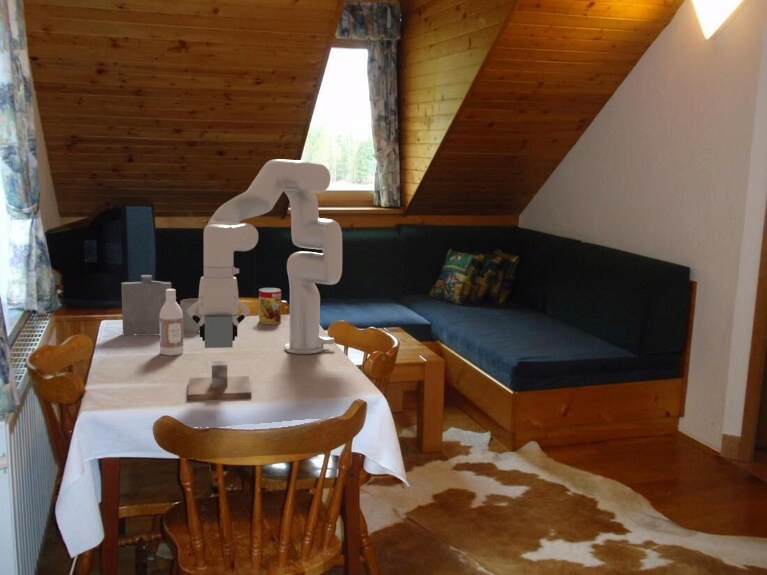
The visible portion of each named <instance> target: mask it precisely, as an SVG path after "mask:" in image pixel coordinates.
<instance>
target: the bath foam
mask: <svg viewBox="0 0 767 575" xmlns="http://www.w3.org/2000/svg"><path fill="white" fill-rule="evenodd" d="M176 293H177V290H176V289H175V288H171V289H166V302H165V304H164V305H163V307H162V308H161V311H160V316H159V323H160V335H159V350H160V352H159V353H160V354H161V355H164V356H167V357H169V356H170V357H171V356H172V357H173V356H178V355H181V354H183V352H184V331H183V314H182V310H181V305H179V304H178V302H177V301H176V300H177V296H176V295H177V294H176Z"/></svg>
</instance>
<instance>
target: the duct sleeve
mask: <svg viewBox="0 0 767 575" xmlns="http://www.w3.org/2000/svg"><path fill="white" fill-rule="evenodd" d="M233 342H234V341H233V316H205V341H204V348H205V349H216V348H217V349H219V348H220V349H223V348H233Z"/></svg>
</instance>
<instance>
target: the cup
mask: <svg viewBox="0 0 767 575" xmlns="http://www.w3.org/2000/svg"><path fill="white" fill-rule="evenodd" d="M198 300H199V298H186V299H182V300H180V308H181V310H182V314H183V332H185V331H188V332H187V333H200V332H199V331H200V326H199V325H198V324H197V323H196V322H195V321H194V320H193V319H192V317H191V316H190V315H189V314H188V313H187V309H188V308H190V307H191V306H192V305H193V304H195V303H196V302H197V301H198ZM194 313H195V314H196V315H197V316H198V317H199V318H200V317H201V315H200V314H199V307H198V308H197V309H196V310H194ZM204 324H205V322H204Z"/></svg>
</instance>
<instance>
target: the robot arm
mask: <svg viewBox="0 0 767 575" xmlns="http://www.w3.org/2000/svg"><path fill="white" fill-rule="evenodd" d="M330 183H331V174H330V171H329V169H328V168H327V166H325V165H324V164H321V163H316V162H309V161H304V160H298V159H296V160H294V159H280V158H279V159H278V158H277V159H270V160H267V162H265V164H264V165H263V167H261V169H260V170H259V171H258V174H257V175H256V176H255V178H254V180H252V182H251V184H250V185H249V186H248V187H247V188H248V189H247V190H246V191H244V192H242V193H241V194H238V195H236V196H234V197H233V198H231V199H229V200H227V201H226V202H225V203H223V204H222V205H220V207H218V208H217V209H216V210H215V212H214V213H213V214H212V216H211V217H210V219H209V220H208V222H207V224H206V226H205V227H204V229H203V276H201V277H200V280H199V285H198V287H199V289H198V299H199V300H198V301H197V302H196V303H195V304H193V305H192V306H191V307H190V308H188V309H187V313H188V314H189V315H190V316H191V317H192V319H193V320H194V321H195V322H196V323H197V324H198V325H199V326H200V332H199V338H202V339H201V341H202V342H205V324H204V322H205V316H233V342H234V341H235V340H236V338H238V328H239V327H238V326H239V324H240V323H242V322H243V320H244V319H245V318H247V316H248V315H249V314H250V312H251V310H250V308H249V307H248V306H246V305H245V304H244V303H242V302H241V300H240V299H239V286H238V279H237V277H236V276H234V275H237V274H240V268H238V267H235V266H234V258H235V257H234V256H235V254H234V253H235V252H247V251H248V252H249V251H251V250H252V249H254V248H255V247H256V246H257V244H258V242H259V231H258V230H257V228H256V227H255V226H254V225H253V224H250V223H247V222H241V221H243V220H247V219H251V218H254V217H255V218H256V217H259V216H262V215H264V214H267V213H269V212H271V211H272V210H273V208H274V206H275V205H276V203H277V201H278V200H279V199H280V197H281V196H282V194H283V193H284V194H285V195H286V196H287V198H288V200H289V205H290V223H291V224H290V225H291V228H290V229H291V240H292V244H293V245H294V246H296V247H298V248H304V249H313V250H321V251H322V252H313V251H306V250H305V251H296V252H294V253H292V254H290V255H289V257H288V259H287V260H286V261H287V262H286V272H287V276H288V283H289V336H288V337H289V338H288V340H289V342H287V343H286V344H285V345H283V346H284V351H286V352H288V353H290V354H296V355H297V354H298V355H312V354H313V353H314V354H318V352H319V353H322V352H323V351H324V349H325V345H334V344H335V338H334V337H329V336H328V337H326V336H324V337H322V336H321V334H320V318H321V317H320V313H321V312H320V310H321V308H320V307H321V305H320V304H321V295H320V291H319V289H318V287H317V285H316V284H321V285H330V286H332V285H336V284H337V283H339V282H340V279H341V277H342V274H343V232H342V228H341V226H340V224H339V222H337V221H336V220H334V219H329V218H320V216H319V202H318V201H319V200H318V197H317V195H316V194H322V193H324V192H326V191H327V189H328V188H329V186H330ZM198 307H199V314H200V315H201V317H200V318H199V317H198V316H197V315H196V314H195V313H194V310H196V309H197V308H198ZM239 309H240V310H242V312H241V313H240V314H239ZM238 314H239V315H238ZM237 315H238V316H237ZM314 354H313V355H314Z"/></svg>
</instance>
